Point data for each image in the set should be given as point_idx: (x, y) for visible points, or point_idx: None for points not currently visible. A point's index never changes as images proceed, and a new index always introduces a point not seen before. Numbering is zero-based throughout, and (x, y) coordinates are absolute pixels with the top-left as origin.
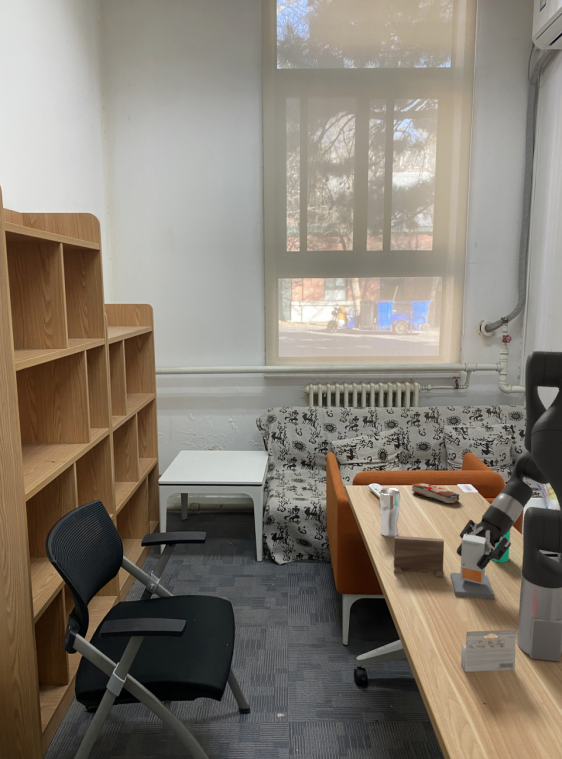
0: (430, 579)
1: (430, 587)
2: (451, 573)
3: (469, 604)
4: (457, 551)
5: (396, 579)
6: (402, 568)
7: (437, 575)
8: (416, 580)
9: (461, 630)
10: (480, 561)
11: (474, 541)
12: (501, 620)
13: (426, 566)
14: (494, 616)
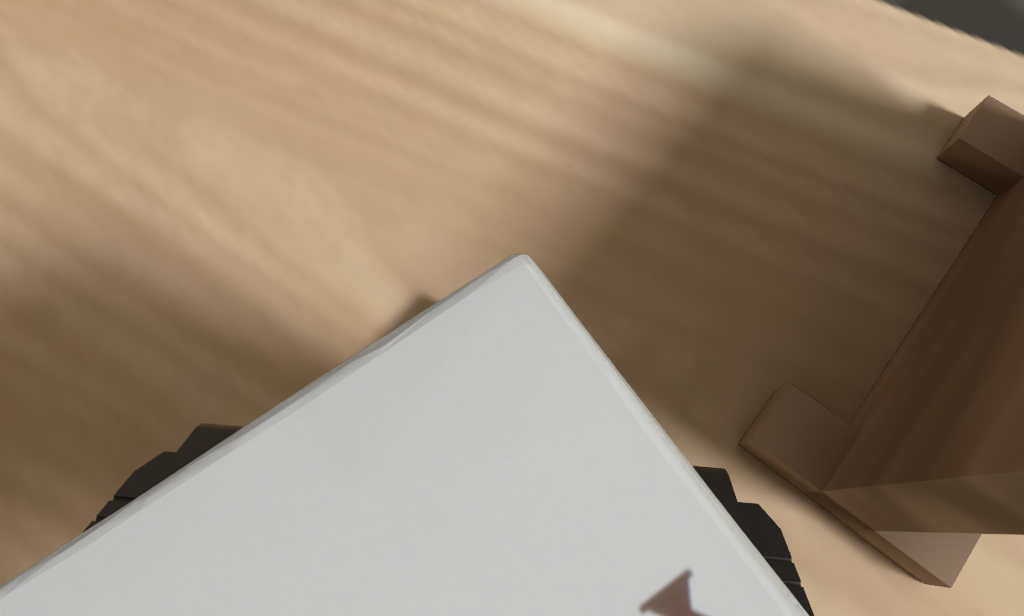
0: (762, 313)
1: (654, 224)
2: None
3: (301, 314)
4: (711, 470)
5: (873, 79)
6: (1005, 196)
7: (775, 392)
8: (797, 200)
9: (139, 42)
10: (171, 467)
11: (214, 475)
12: (9, 362)
13: (920, 351)
14: (75, 358)
